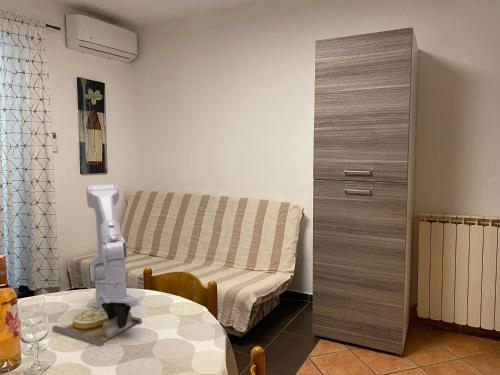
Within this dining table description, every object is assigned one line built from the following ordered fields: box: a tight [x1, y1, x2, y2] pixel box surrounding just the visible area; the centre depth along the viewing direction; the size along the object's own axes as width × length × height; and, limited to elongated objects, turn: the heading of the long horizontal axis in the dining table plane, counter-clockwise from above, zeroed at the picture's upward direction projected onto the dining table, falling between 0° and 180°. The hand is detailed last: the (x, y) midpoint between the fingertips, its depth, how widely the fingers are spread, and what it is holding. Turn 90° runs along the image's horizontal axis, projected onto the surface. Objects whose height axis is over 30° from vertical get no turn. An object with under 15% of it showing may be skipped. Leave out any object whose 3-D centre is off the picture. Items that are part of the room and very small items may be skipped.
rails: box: [51, 307, 143, 347], centre depth 114 cm, size 16×21×2 cm
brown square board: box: [63, 312, 138, 344], centre depth 114 cm, size 18×13×5 cm
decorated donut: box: [72, 308, 109, 330], centre depth 116 cm, size 10×11×4 cm
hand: (118, 325), depth 110 cm, fingers open, 3 cm apart
